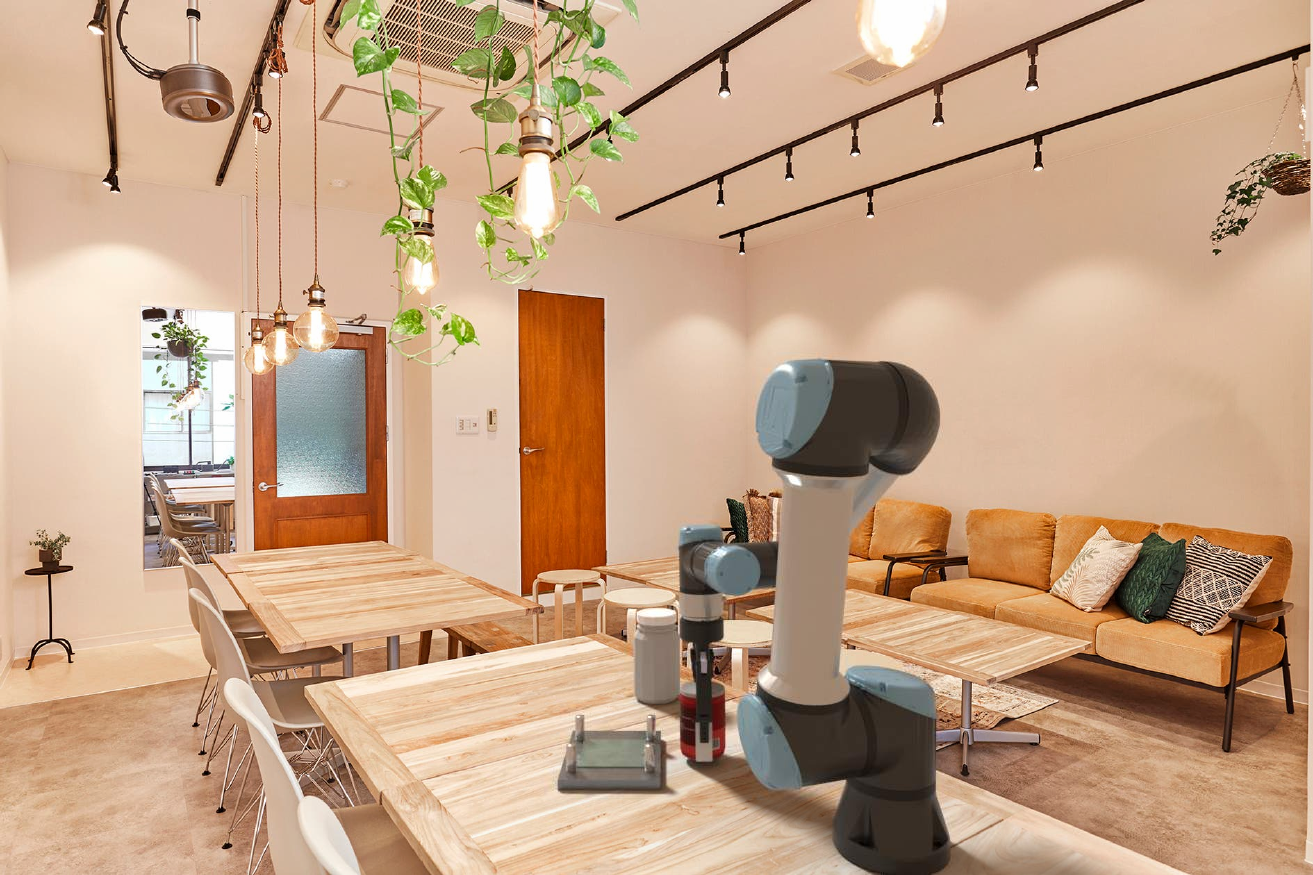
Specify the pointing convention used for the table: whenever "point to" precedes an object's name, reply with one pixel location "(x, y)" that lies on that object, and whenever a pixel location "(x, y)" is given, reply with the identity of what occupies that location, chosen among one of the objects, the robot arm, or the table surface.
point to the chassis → (612, 759)
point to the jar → (656, 656)
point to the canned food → (690, 713)
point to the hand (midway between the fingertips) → (702, 750)
